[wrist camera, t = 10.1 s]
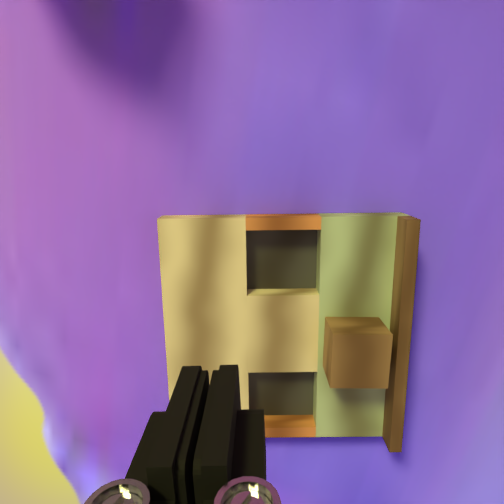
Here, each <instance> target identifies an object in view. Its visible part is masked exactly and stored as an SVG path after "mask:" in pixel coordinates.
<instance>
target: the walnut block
mask: <svg viewBox="0 0 504 504" xmlns="http://www.w3.org/2000/svg"><path fill="white" fill-rule="evenodd" d="M392 341H393V334H392V333H391V332H390V331H389V329H388V328H387V327H386V326H385V324H384V323H383V322H382V320H381V319H380V318H379V317H325V328H324V347H323V368H324V371H325V374H326V377H327V380H328V383H329V386H330V388H368V389H388V383H389V372H390V362H391V351H392Z"/></svg>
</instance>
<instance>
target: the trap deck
mask: <svg viewBox="0 0 504 504" xmlns="http://www.w3.org/2000/svg"><path fill="white" fill-rule="evenodd" d="M420 221H421V220H420V219H417V218H415V217H412V216H409V215H407V214H404V213H327V214H250V215H173V216H161V217H160V218H158V219H157V225H158V240H159V255H160V270H161V284H162V299H163V314H164V328H165V343H166V358H167V373H168V387H169V401H170V399H171V396H172V393H173V390H174V388H175V385H176V382H177V379H178V377H179V374H180V371H181V368H182V366H201V367H202V370H208V373H209V384H210V381H211V376H212V372H213V370H219V367H220V365H238V367H239V382H240V399H241V410H244V409H264V420H265V437H368V436H382V437H383V439H384V441H385V443H386V446H387V448H388V450H389V452H401V450H402V438H403V426H404V414H405V402H406V390H407V377H408V365H409V353H410V341H411V329H412V317H413V305H414V293H415V281H416V269H417V257H418V245H419V233H420ZM325 317H379V318H380V319H381V320H382V322H383V323H384V324H385V326H386V327H387V328H388V329H389V331H390V332H391V333H392V334H393V341H392V351H391V362H390V372H389V383H388V389H368V388H330V386H329V383H328V380H327V377H326V374H325V371H324V368H323V347H324V328H325Z"/></svg>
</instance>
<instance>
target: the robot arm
mask: <svg viewBox="0 0 504 504" xmlns="http://www.w3.org/2000/svg"><path fill="white" fill-rule="evenodd" d="M84 504H281V500H280V497H279V494H278V492H277V490H276V489H275V488H274V487H273V485H272V484H271V483H269V482H268V481H266V445H265V420H264V409H244V410H241V399H240V382H239V367H238V365H220V367H219V370H213V372H212V376H211V381H210V384H209V373H208V370H202V367H201V366H182V368H181V371H180V374H179V377H178V379H177V382H176V385H175V388H174V390H173V393H172V396H171V399H170V401H169V404H168V407H167V410H166V411H165V412H153V413H152V414H151V416H150V419H149V421H148V423H147V426H146V428H145V431H144V433H143V436H142V438H141V440H140V443H139V445H138V448H137V450H136V453H135V455H134V457H133V460H132V462H131V465H130V467H129V470H128V472H127V474H126V477H125V479H119V480H115V481H112V482H110V483H107V484H105V485H103V486H101V487H100V488H99V489H98V490H96V491H95V492H94V493H92V495H91V496H90V497H89V498H88V499H87V500H86V502H85V503H84Z"/></svg>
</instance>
